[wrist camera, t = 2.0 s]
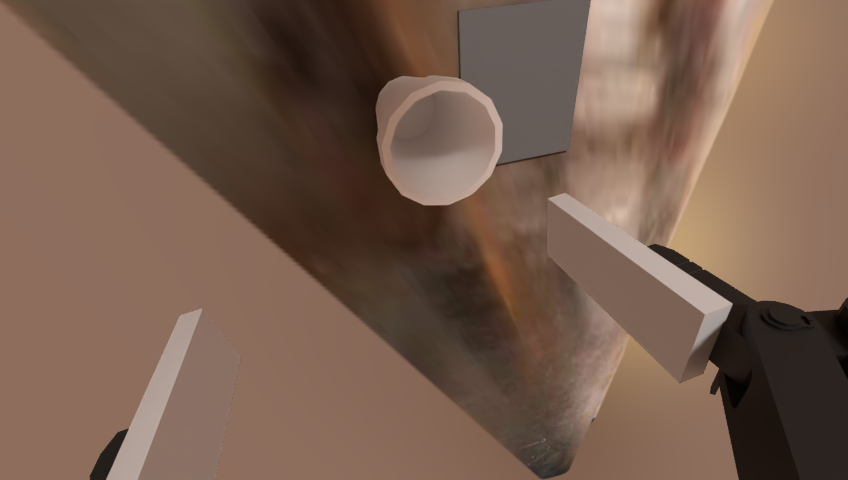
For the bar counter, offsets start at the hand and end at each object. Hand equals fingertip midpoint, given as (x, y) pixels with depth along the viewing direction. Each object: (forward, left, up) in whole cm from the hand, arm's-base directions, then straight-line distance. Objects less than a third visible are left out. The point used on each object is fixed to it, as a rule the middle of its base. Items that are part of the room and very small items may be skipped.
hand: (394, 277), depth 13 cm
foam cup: (+1, +7, -27) cm, 28 cm away
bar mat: (+1, +20, -27) cm, 33 cm away
